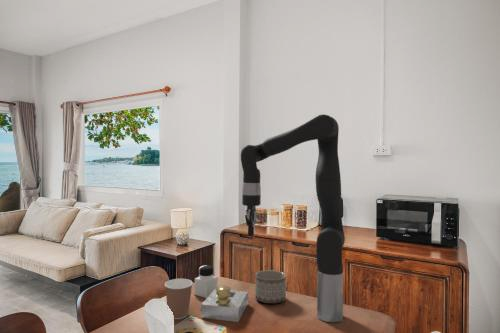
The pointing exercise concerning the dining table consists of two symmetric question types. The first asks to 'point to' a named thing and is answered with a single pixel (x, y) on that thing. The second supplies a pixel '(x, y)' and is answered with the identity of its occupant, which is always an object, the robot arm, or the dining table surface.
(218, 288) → the brass knob
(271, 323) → the dining table surface
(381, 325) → the dining table surface
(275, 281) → the planter
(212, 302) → the jig
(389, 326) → the dining table surface
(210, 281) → the medicine bottle
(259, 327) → the dining table surface
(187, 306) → the coffee cup
